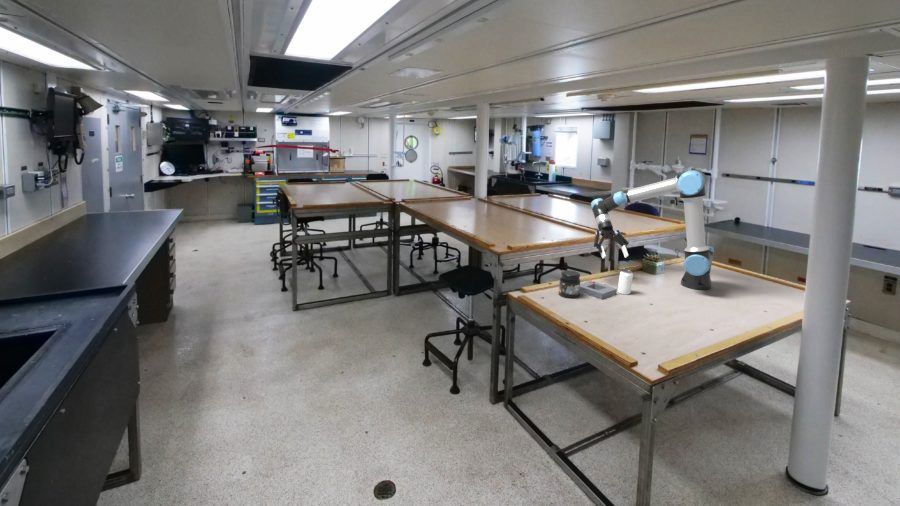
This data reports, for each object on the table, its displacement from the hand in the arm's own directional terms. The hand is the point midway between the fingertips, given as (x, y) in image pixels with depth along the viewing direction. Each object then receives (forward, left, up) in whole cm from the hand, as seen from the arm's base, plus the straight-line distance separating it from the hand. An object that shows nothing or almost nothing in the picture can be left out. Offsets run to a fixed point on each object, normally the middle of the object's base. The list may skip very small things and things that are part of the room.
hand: (615, 257), depth 252 cm
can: (-10, +5, -17) cm, 20 cm away
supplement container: (+5, +32, -17) cm, 36 cm away
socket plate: (-1, +17, -16) cm, 23 cm away
